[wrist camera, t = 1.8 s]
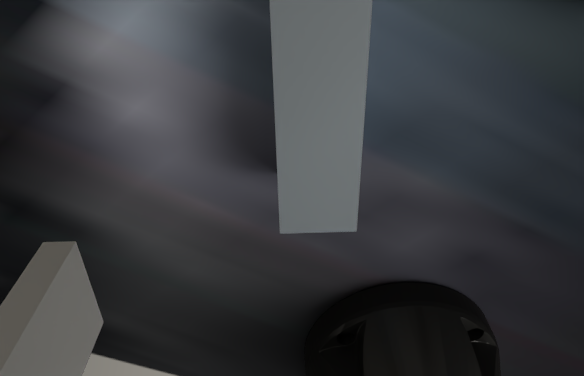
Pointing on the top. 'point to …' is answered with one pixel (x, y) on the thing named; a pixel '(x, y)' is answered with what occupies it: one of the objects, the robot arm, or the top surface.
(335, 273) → the top surface
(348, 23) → the smooth gray tapered block
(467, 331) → the robot arm
